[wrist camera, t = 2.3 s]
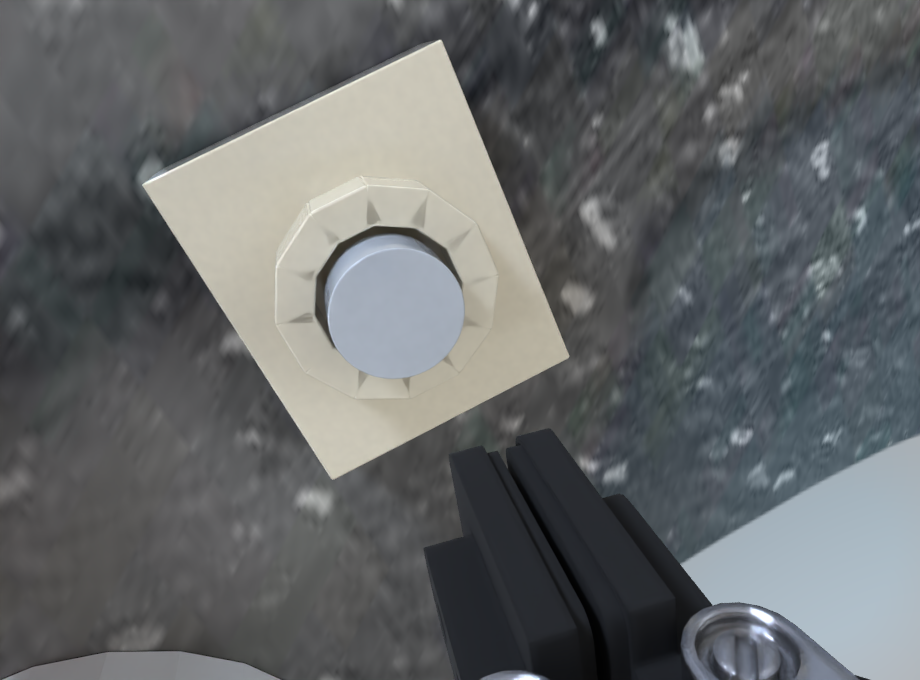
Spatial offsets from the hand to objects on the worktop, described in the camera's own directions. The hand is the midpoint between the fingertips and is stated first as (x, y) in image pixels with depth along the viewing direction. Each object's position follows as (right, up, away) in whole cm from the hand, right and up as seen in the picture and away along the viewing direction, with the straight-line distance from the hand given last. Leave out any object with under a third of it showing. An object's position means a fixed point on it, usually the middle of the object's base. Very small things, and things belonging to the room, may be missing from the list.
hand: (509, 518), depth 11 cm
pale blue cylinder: (-3, +4, +11) cm, 12 cm away
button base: (-4, +6, +15) cm, 16 cm away
